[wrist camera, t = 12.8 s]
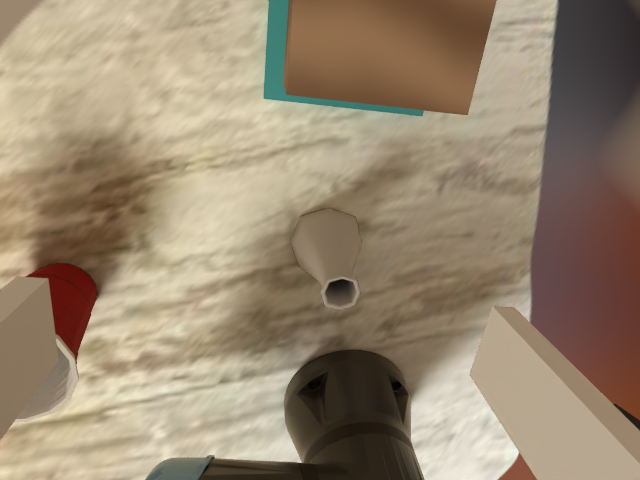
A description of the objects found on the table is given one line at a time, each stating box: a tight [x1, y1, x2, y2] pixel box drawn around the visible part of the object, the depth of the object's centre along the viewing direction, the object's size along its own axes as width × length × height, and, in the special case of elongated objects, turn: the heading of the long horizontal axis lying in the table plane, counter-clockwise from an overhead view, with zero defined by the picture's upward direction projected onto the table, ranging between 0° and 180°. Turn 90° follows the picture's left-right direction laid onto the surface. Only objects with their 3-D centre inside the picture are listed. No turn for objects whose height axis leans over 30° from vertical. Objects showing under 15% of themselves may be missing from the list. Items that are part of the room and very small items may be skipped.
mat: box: [264, 0, 424, 116], centre depth 32 cm, size 14×14×1 cm
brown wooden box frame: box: [283, 0, 496, 115], centre depth 27 cm, size 11×11×12 cm
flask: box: [290, 208, 362, 310], centre depth 36 cm, size 7×7×10 cm
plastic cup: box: [14, 263, 97, 422], centre depth 35 cm, size 11×11×12 cm
